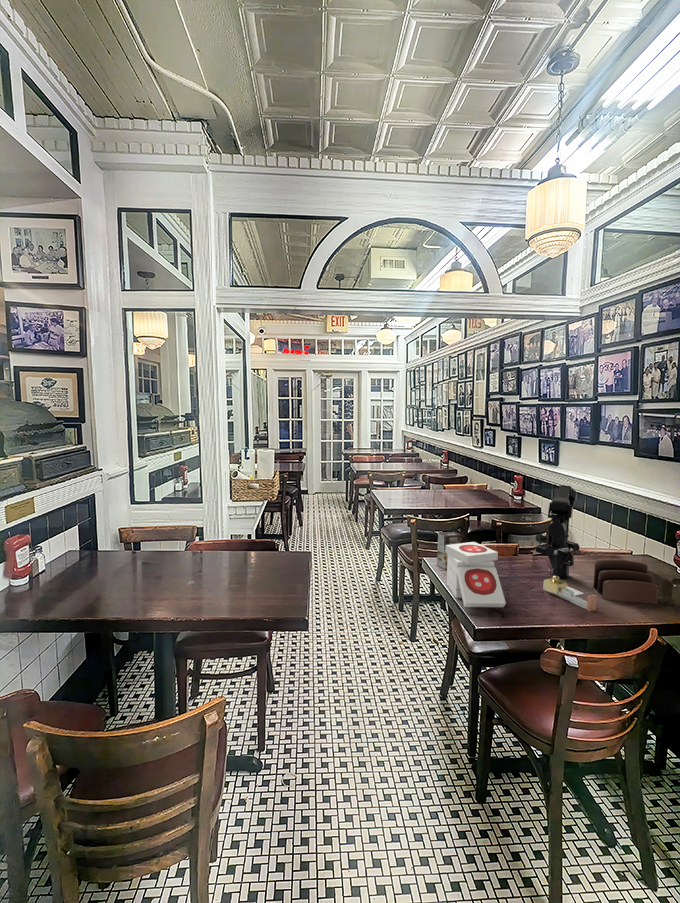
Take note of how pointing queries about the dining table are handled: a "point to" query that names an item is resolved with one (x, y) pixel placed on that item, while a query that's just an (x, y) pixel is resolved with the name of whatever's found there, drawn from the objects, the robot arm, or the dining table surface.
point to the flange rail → (576, 598)
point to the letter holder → (624, 581)
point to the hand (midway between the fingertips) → (556, 568)
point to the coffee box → (444, 540)
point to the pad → (575, 591)
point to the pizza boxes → (474, 575)
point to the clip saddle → (554, 584)
